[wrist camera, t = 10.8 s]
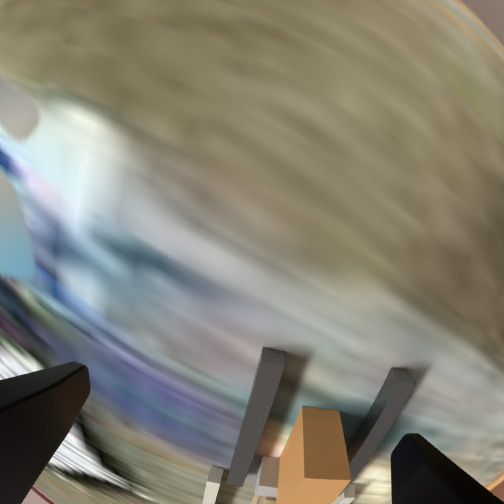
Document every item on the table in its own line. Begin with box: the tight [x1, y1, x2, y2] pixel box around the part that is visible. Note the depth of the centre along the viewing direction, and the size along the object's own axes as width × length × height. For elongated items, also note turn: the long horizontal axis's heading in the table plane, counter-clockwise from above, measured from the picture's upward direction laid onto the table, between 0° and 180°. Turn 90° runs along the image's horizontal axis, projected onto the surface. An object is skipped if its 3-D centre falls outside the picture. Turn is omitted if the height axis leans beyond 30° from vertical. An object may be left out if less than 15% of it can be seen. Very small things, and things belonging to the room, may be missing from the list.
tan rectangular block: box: [255, 406, 351, 504], centre depth 18 cm, size 6×9×7 cm
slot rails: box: [226, 347, 416, 496], centre depth 20 cm, size 11×15×2 cm
